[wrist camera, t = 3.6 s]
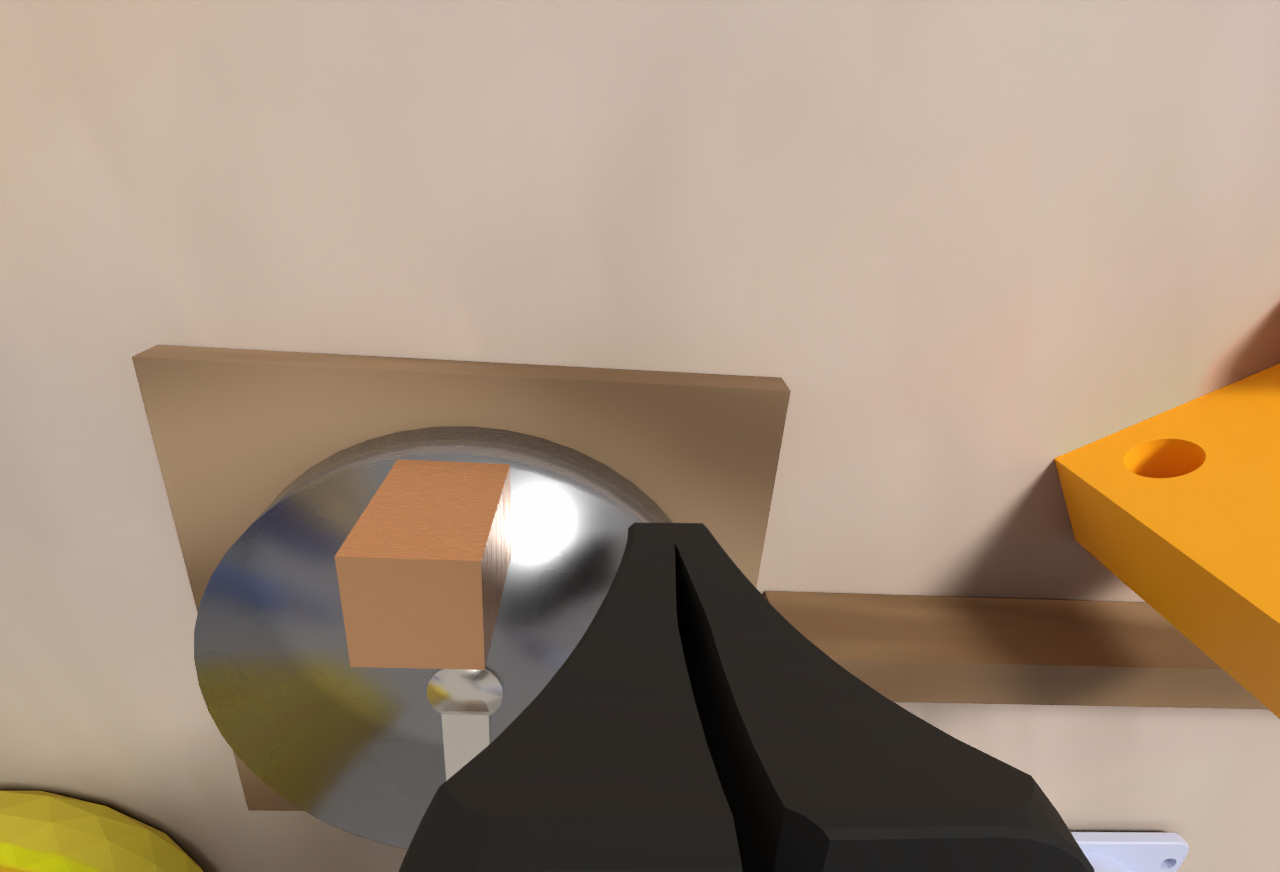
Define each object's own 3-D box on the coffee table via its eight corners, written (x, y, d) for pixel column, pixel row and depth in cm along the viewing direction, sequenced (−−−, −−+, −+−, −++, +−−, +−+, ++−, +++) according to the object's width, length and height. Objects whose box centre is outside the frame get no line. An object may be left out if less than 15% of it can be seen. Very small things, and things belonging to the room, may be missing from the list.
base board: (712, 788, 20) (716, 813, 19) (262, 784, 19) (248, 810, 18) (781, 378, 14) (790, 391, 14) (157, 345, 14) (131, 357, 13)
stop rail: (1521, 648, 19) (1641, 716, 17) (758, 628, 17) (780, 699, 15) (1548, 615, 18) (1676, 680, 16) (765, 591, 17) (788, 659, 15)
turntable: (687, 799, 18) (709, 995, 14) (275, 795, 18) (171, 1002, 13) (738, 438, 14) (795, 571, 10) (188, 413, 13) (-11, 545, 9)
